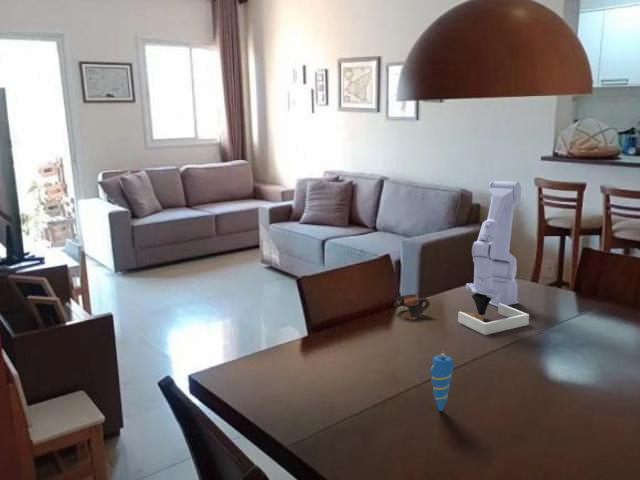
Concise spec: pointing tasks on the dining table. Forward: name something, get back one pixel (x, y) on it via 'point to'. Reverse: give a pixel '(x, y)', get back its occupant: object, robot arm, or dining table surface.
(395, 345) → the dining table surface
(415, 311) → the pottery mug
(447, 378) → the ornament
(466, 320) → the box
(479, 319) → the shard
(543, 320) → the dining table surface
